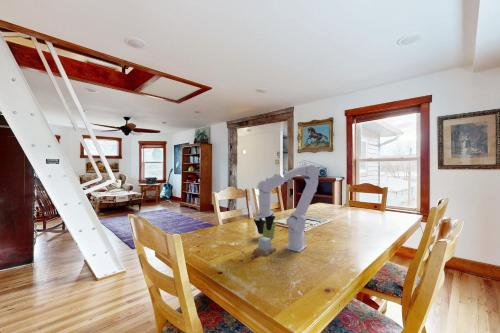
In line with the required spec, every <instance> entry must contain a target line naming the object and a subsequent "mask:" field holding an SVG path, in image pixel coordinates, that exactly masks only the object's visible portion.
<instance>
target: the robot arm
mask: <svg viewBox="0 0 500 333" xmlns="http://www.w3.org/2000/svg"><path fill="white" fill-rule="evenodd" d="M319 175H320V170H319V168H318V166H316V165H315V164H301V165H299V166H296V167H295V168H293V169H290V170H289V171H286V172H285V173H283V174H280V173H274V175H272V176H270V177H266V178H265V179H264V180H262V179H261V180H260V181H259V182H258V184H257V190H258V212H257V213H256V215H255V216H254V218H253V222H254V224H255V226H256V229H257V234H259V235H263V228H264V223H265V221H266V228H267V230H271V227H272V223H273V222H275V221H274V220H275V219H276V216H275V211H274V210H271V209H272V208H271V192H272V190H273V189H276V188H278V187H280V186H282V185H284V183H285V181H288V180H289V179H293V178H295V177H297V176H301V177H302V178H303V179H304V181H305V187H304V189H303V192H302V194H301V196H300V199H299V201H298V203H297V206H296V208H295V211H293V212H291V214H290V216H289V217H287V219H286V226H287V227H288V235H287V236H288V237H287V238H288V239H287V240H288V242H287V244H288V245H287V246H286V247H285V249H286V250H289V251H293V252H298V253H300V252H301V251H303V250H304V249H306V247H307V245H306V234H305V228H306V222H307V219H306V214H307V212H308V209H309V207H310V204H311V202H312V201H313V198H314V195H315V193H316V190H317V188H318V185H319Z"/></svg>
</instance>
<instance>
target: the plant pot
mask: <svg viewBox="0 0 500 333" xmlns="http://www.w3.org/2000/svg"><path fill="white" fill-rule="evenodd" d="M276 226H277V222H276V221H273V223H272V227H271V230H267V228H266V221H265V223H264V228H263V234H262V237H267V238H271V240H273V239H274V237H275V231H276Z"/></svg>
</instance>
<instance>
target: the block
mask: <svg viewBox="0 0 500 333" xmlns="http://www.w3.org/2000/svg"><path fill="white" fill-rule="evenodd" d="M257 240H258V243H257V248H258V249H260V250H263V251H267V250H269V249H271V247H272V239H271V238H267V237H263V236H262V237H260V238H258V239H257Z"/></svg>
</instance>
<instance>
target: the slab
mask: <svg viewBox="0 0 500 333" xmlns="http://www.w3.org/2000/svg"><path fill="white" fill-rule="evenodd" d="M275 252H277V248H276V247H273V246H271V249H269V250H267V251H263V250H260V249H258V247H256V248H254V249H253V253H255V254H259V255H261V256H265V257H268V256H270V255H272V254H273V253H275Z"/></svg>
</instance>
